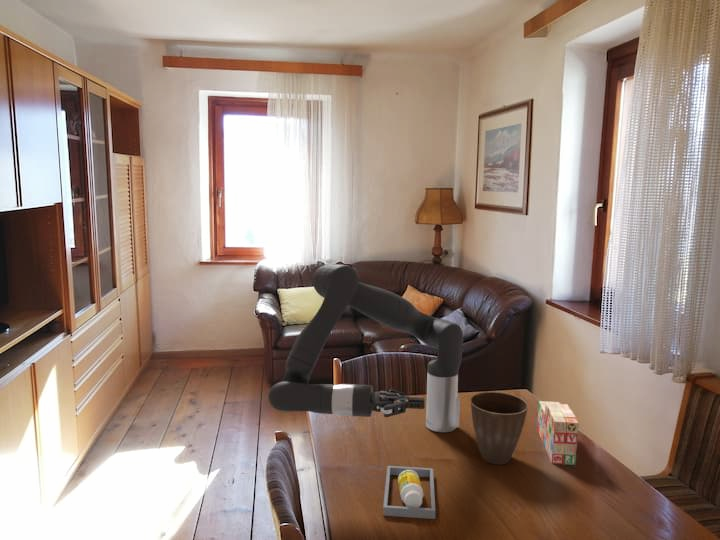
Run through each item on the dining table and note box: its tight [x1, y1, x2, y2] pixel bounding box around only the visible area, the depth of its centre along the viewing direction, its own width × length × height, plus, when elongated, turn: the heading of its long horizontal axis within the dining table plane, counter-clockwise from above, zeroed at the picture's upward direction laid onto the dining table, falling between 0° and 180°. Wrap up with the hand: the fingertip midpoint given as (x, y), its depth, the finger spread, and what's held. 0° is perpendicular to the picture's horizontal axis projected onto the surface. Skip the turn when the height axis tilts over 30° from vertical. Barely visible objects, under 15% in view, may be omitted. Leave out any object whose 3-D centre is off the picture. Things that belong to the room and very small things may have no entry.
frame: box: [382, 465, 436, 520], centre depth 133 cm, size 19×12×2 cm, turn 174°
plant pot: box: [470, 391, 529, 465], centre depth 150 cm, size 15×15×16 cm
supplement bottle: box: [397, 470, 424, 508], centre depth 130 cm, size 5×5×10 cm
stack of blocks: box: [537, 400, 580, 466], centre depth 157 cm, size 21×6×12 cm, turn 173°
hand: (424, 403), depth 132 cm, fingers closed
